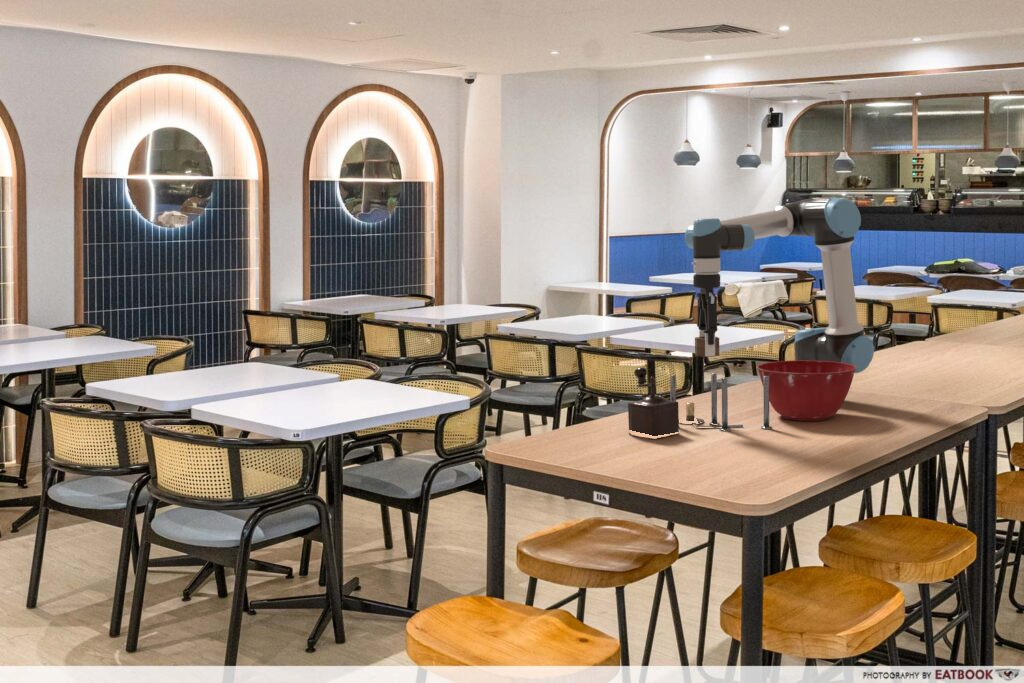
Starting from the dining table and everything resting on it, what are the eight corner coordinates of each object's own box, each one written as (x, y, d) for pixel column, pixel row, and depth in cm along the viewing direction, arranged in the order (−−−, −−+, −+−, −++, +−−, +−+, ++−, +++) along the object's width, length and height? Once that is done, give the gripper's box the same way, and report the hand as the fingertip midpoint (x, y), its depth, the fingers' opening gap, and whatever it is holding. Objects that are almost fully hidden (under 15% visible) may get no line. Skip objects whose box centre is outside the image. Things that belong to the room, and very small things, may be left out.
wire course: (667, 425, 335) (666, 374, 333) (762, 421, 336) (761, 370, 334) (675, 433, 323) (674, 381, 322) (773, 429, 325) (773, 376, 323)
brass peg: (674, 420, 342) (674, 401, 342) (700, 419, 343) (700, 400, 342) (679, 425, 334) (679, 406, 334) (706, 424, 335) (706, 404, 334)
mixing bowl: (769, 406, 360) (769, 357, 358) (863, 411, 347) (863, 360, 345) (746, 423, 335) (746, 370, 333) (846, 429, 322) (847, 374, 320)
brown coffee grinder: (681, 434, 323) (680, 370, 320) (654, 440, 316) (653, 375, 313) (642, 426, 335) (640, 365, 332) (614, 432, 328) (613, 370, 325)
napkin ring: (693, 354, 329) (693, 336, 328) (715, 353, 329) (715, 336, 329) (698, 357, 323) (698, 339, 322) (720, 356, 323) (720, 338, 322)
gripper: (686, 271, 333) (686, 350, 335) (701, 275, 313) (702, 359, 316) (711, 271, 333) (711, 349, 336) (728, 275, 314) (728, 358, 317)
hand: (707, 354), depth 326 cm, fingers closed on napkin ring, 6 cm apart
